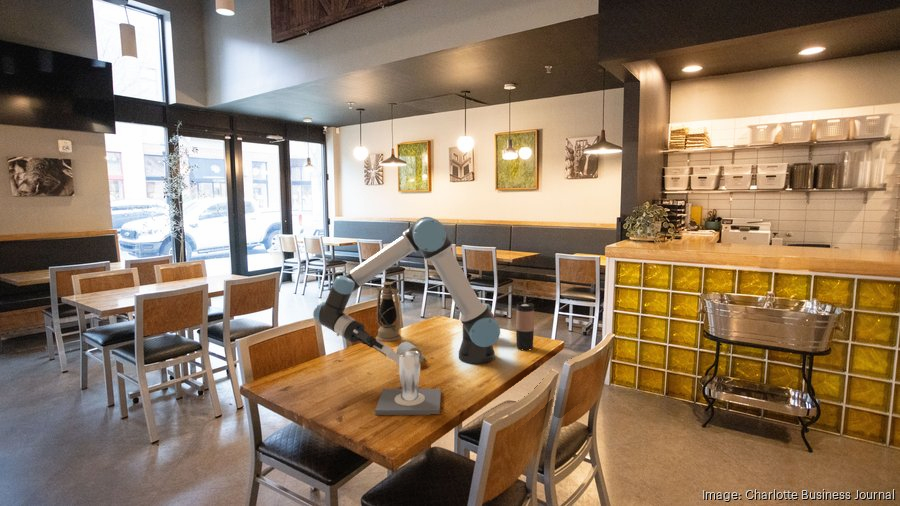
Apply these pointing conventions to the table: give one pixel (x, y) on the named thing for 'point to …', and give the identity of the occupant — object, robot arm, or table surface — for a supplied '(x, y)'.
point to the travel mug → (525, 326)
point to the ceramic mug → (409, 349)
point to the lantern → (388, 313)
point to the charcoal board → (409, 403)
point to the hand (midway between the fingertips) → (396, 357)
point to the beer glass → (409, 375)
